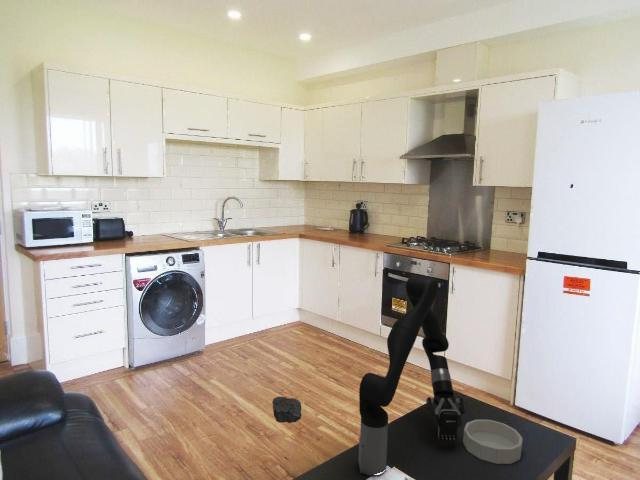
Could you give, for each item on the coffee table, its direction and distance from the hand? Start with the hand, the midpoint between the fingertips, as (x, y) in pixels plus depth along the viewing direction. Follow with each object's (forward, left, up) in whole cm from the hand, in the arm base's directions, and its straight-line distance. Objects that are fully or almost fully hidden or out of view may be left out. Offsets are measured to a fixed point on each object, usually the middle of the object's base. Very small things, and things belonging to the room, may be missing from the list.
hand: (448, 426), depth 165 cm
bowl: (+17, +1, -9) cm, 19 cm away
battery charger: (0, 0, -6) cm, 6 cm away
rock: (-61, +23, -9) cm, 66 cm away
